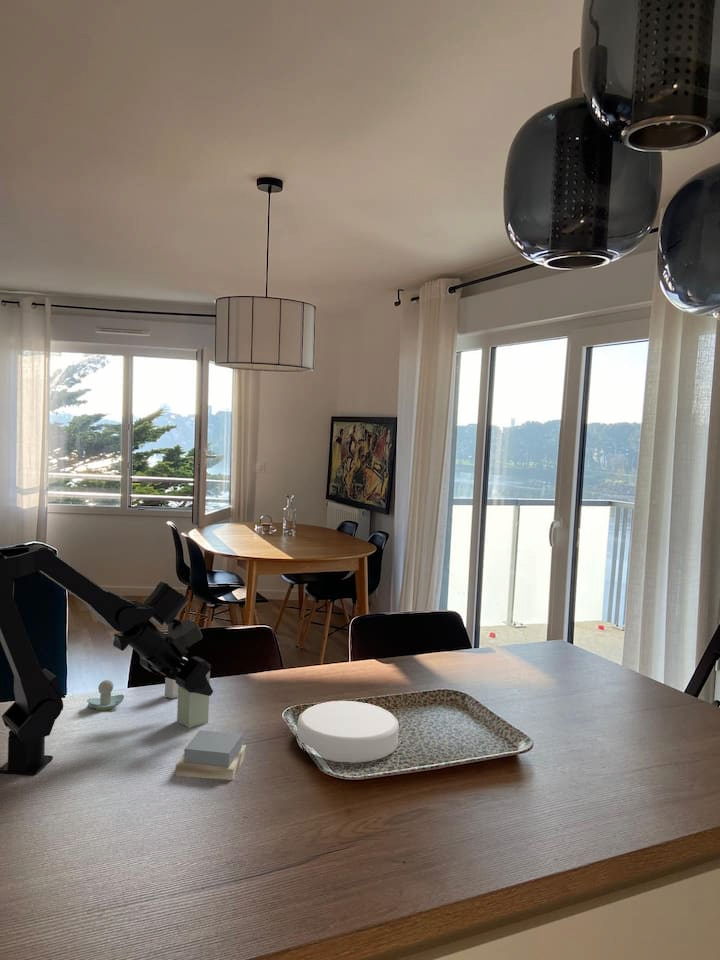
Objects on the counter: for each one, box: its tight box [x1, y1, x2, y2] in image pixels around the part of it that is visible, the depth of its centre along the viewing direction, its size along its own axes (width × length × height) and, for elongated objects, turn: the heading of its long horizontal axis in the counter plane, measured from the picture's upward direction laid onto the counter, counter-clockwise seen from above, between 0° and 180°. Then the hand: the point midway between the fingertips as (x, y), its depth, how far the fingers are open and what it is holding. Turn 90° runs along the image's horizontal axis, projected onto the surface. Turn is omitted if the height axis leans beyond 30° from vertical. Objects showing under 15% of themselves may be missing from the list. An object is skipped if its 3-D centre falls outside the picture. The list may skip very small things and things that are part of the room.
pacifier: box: [87, 679, 125, 711], centre depth 153 cm, size 7×6×6 cm
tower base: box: [175, 744, 247, 781], centre depth 128 cm, size 10×10×2 cm
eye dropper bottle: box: [164, 656, 189, 699], centre depth 161 cm, size 4×6×12 cm
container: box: [296, 700, 400, 763], centre depth 142 cm, size 20×20×5 cm
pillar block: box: [176, 663, 211, 729], centre depth 147 cm, size 4×4×12 cm
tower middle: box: [183, 729, 243, 767], centre depth 128 cm, size 8×8×2 cm
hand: (199, 687), depth 147 cm, fingers open, 9 cm apart
